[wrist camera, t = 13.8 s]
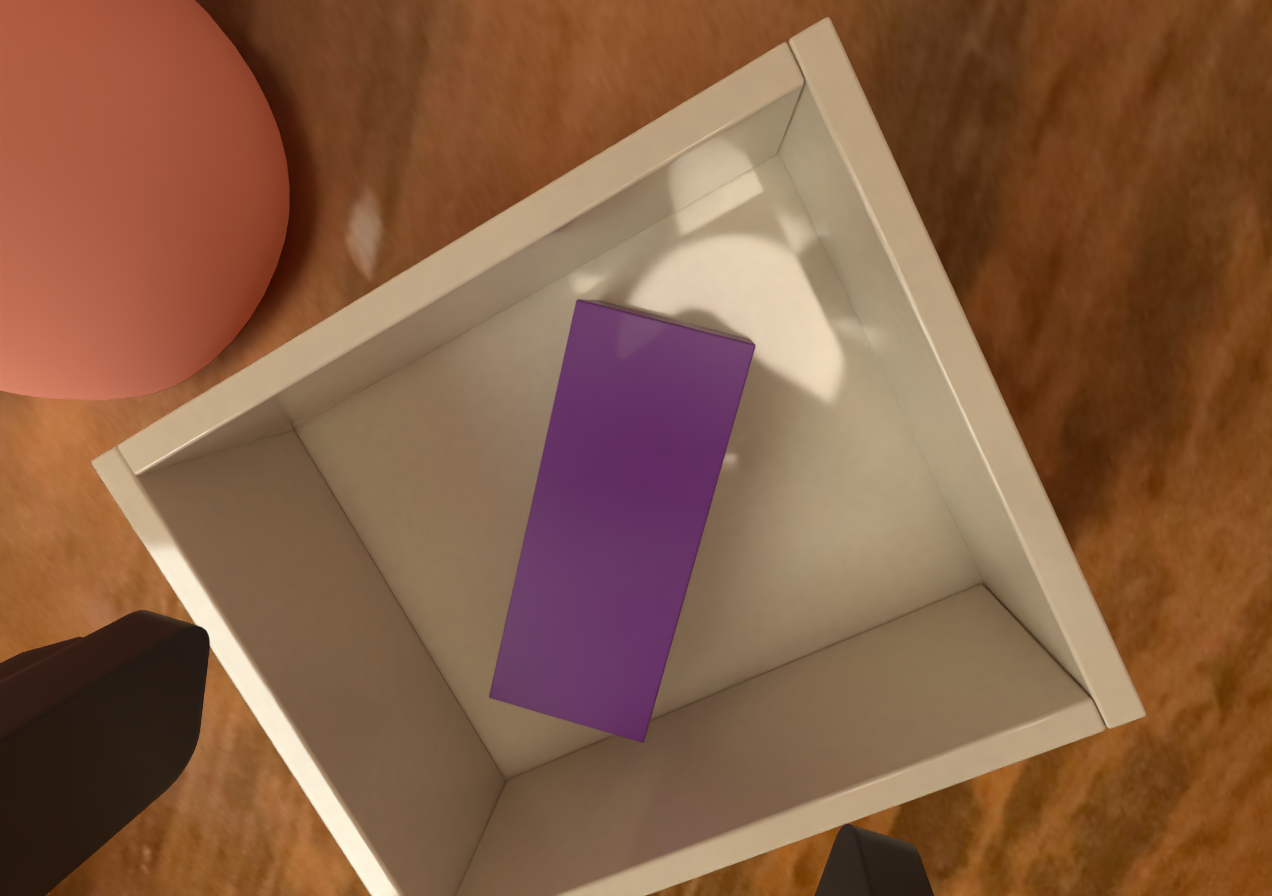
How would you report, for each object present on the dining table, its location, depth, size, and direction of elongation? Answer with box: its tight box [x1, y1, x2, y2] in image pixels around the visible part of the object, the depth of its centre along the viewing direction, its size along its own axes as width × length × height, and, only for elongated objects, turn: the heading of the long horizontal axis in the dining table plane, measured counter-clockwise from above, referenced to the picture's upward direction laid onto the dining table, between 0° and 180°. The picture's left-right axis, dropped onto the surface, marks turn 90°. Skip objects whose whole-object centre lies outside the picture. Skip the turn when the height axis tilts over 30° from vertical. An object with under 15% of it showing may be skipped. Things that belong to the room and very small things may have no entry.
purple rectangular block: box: [489, 299, 756, 743], centre depth 19 cm, size 11×4×3 cm, turn 166°
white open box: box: [91, 17, 1146, 896], centre depth 18 cm, size 18×15×7 cm
